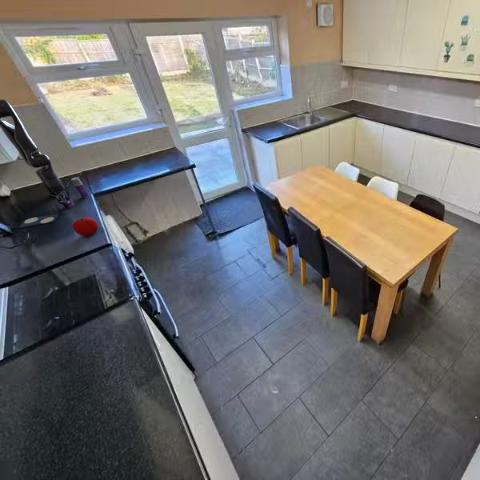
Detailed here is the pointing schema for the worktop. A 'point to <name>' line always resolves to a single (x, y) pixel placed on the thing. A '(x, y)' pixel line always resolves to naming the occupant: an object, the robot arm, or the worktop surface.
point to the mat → (38, 220)
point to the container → (80, 187)
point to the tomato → (85, 226)
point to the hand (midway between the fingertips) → (69, 205)
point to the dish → (69, 204)
